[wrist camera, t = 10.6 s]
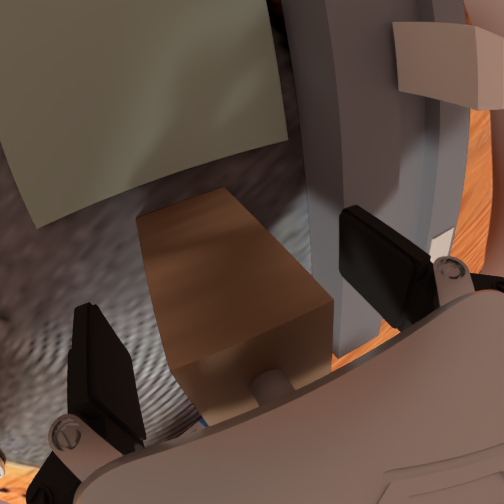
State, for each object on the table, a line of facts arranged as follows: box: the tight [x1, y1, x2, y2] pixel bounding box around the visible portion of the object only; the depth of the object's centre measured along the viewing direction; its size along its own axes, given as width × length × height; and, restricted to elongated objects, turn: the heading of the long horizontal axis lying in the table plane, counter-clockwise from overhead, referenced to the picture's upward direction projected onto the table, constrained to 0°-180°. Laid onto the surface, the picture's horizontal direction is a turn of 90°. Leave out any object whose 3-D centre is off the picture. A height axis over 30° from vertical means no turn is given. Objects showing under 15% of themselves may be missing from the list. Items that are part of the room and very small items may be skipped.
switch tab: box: [392, 22, 504, 111], centre depth 9 cm, size 4×3×5 cm
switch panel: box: [281, 0, 470, 359], centre depth 14 cm, size 10×24×3 cm, turn 9°
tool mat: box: [0, 0, 288, 229], centre depth 8 cm, size 11×13×1 cm
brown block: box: [136, 187, 334, 426], centre depth 9 cm, size 4×4×12 cm
